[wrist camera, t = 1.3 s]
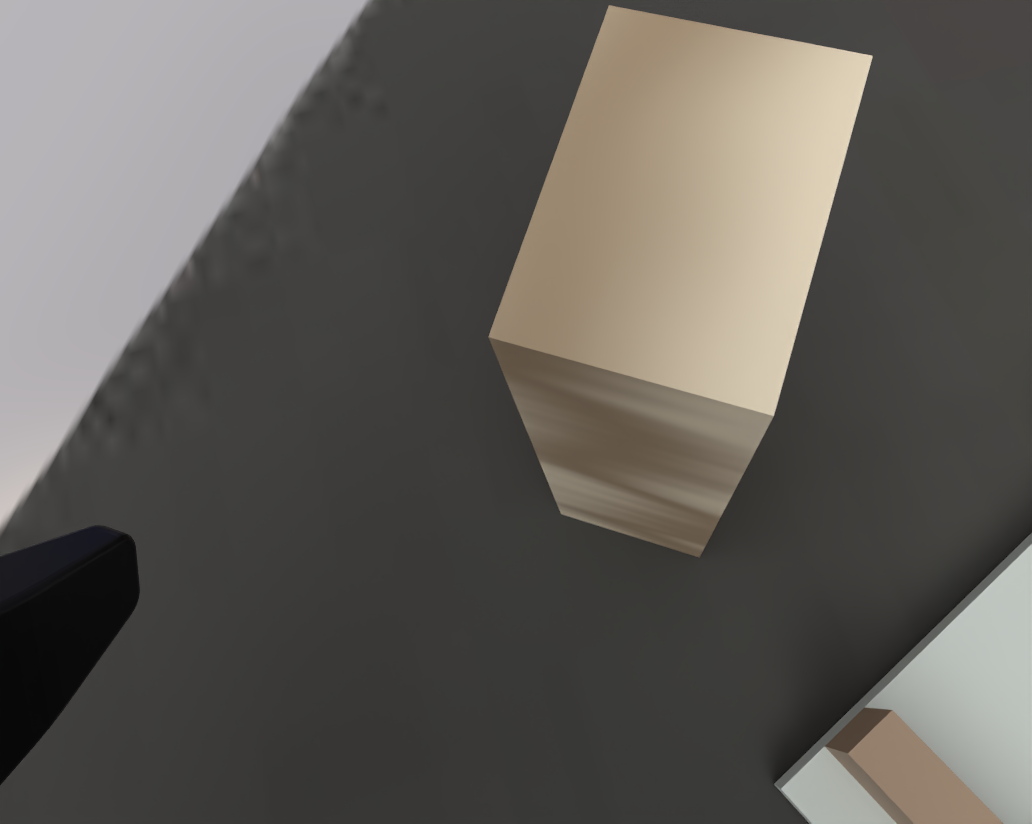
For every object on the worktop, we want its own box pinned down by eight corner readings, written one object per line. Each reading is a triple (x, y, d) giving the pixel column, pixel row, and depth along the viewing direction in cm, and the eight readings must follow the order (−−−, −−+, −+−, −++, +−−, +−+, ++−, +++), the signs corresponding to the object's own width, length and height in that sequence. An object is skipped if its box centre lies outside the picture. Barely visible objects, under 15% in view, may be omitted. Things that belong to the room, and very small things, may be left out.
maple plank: (753, 368, 23) (872, 55, 12) (699, 557, 22) (773, 416, 10) (620, 333, 24) (609, 5, 12) (561, 513, 22) (488, 336, 11)
